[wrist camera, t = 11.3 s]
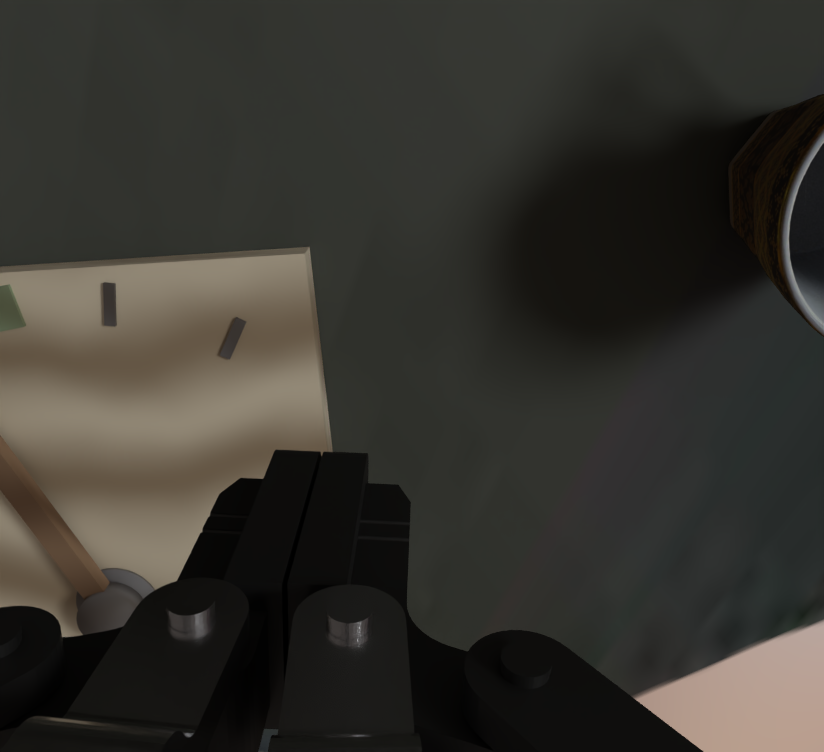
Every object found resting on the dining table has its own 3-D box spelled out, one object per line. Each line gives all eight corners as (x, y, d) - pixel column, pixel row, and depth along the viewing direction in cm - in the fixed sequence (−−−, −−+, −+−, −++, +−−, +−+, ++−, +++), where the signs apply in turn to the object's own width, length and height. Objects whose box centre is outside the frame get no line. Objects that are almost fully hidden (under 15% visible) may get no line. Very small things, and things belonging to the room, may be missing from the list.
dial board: (-193, 278, 37) (-221, 287, 36) (309, 247, 36) (304, 254, 35) (-73, 628, 44) (-91, 649, 43) (350, 609, 43) (347, 629, 42)
